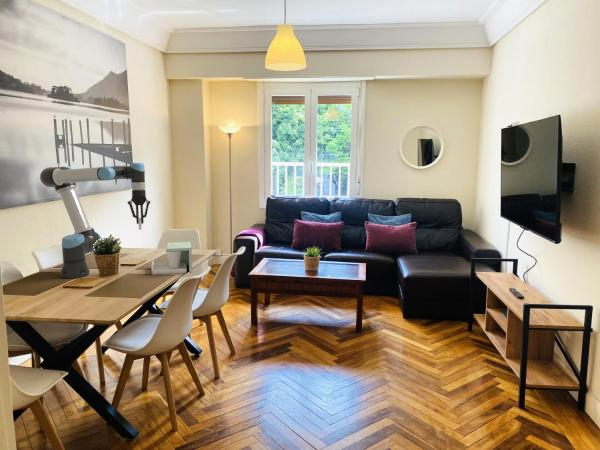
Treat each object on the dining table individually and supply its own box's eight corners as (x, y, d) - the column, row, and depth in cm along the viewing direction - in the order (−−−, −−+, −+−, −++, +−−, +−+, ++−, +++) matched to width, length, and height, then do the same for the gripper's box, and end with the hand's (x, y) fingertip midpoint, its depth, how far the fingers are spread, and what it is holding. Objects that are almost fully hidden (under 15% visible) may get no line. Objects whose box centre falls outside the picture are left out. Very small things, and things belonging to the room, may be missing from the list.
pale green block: (168, 274, 262) (167, 248, 260) (168, 266, 280) (167, 242, 278) (192, 273, 266) (191, 247, 264) (190, 265, 284) (190, 241, 282)
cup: (185, 265, 279) (184, 248, 277) (179, 269, 269) (178, 251, 267) (170, 264, 280) (169, 247, 278) (163, 268, 270) (162, 251, 268)
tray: (151, 274, 260) (151, 266, 259) (152, 268, 275) (152, 260, 275) (186, 272, 266) (186, 264, 265) (185, 266, 281) (185, 258, 280)
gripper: (126, 190, 253) (128, 230, 257) (150, 189, 257) (151, 229, 260) (127, 189, 260) (129, 228, 264) (150, 188, 264) (152, 227, 267)
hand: (140, 229), depth 262 cm, fingers closed
